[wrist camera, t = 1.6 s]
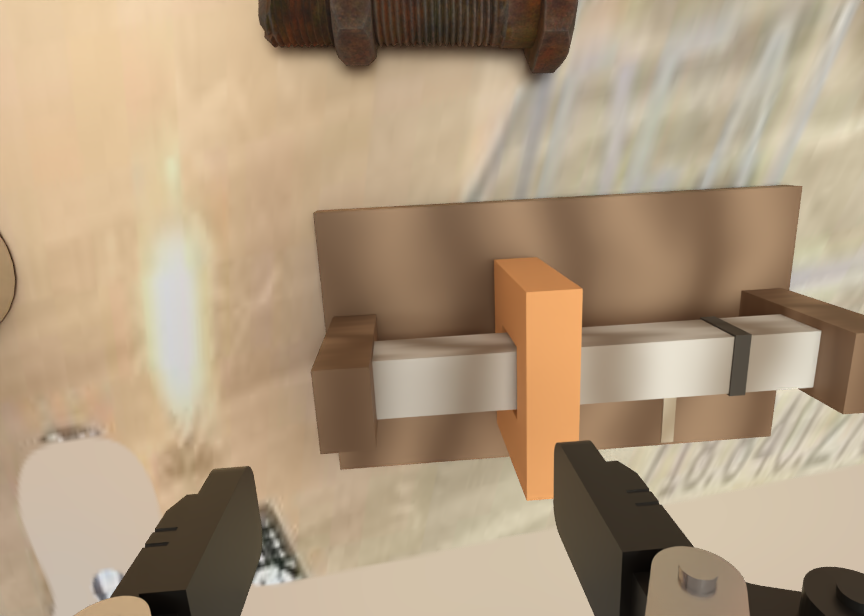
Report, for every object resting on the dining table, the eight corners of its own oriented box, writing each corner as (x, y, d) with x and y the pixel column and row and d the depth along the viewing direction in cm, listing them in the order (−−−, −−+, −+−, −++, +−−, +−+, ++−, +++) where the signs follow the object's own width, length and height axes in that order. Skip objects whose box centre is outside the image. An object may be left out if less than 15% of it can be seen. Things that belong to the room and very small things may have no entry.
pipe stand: (342, 457, 36) (322, 566, 26) (317, 210, 31) (282, 232, 22) (755, 425, 37) (882, 518, 27) (784, 185, 33) (946, 195, 23)
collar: (497, 423, 33) (526, 500, 25) (493, 259, 30) (526, 292, 23) (536, 420, 33) (577, 496, 25) (536, 257, 30) (582, 288, 23)
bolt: (281, 14, 30) (547, 13, 31) (276, 92, 29) (554, 91, 30) (249, -84, 25) (575, -84, 25) (242, 7, 24) (585, 6, 24)
